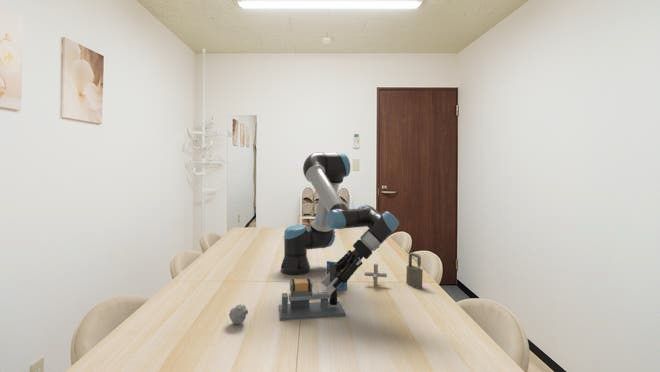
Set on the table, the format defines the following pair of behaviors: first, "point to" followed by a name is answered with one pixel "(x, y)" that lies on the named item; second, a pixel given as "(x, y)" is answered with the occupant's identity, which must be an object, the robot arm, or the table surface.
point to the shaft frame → (307, 306)
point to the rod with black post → (322, 294)
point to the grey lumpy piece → (238, 314)
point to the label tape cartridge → (342, 285)
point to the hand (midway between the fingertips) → (325, 288)
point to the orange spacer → (300, 285)
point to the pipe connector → (375, 274)
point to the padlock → (414, 272)
